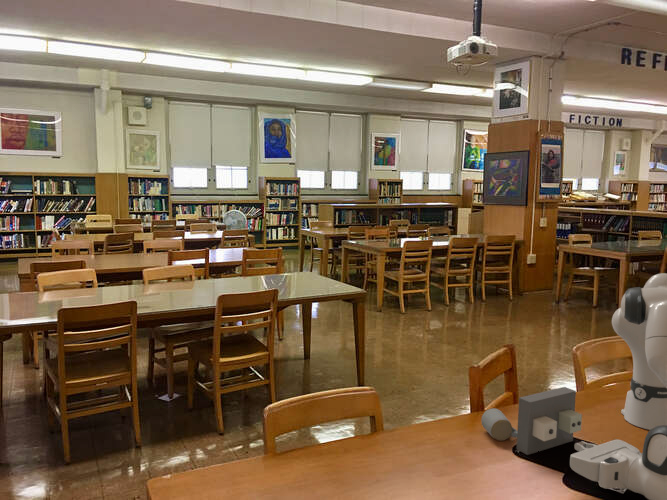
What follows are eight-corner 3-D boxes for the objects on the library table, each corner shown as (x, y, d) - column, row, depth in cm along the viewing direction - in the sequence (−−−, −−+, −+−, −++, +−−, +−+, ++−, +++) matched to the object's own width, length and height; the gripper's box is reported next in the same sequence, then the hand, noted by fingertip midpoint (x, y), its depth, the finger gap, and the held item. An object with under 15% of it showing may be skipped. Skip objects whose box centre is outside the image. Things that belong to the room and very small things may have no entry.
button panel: (561, 435, 165) (564, 386, 163) (572, 440, 162) (575, 391, 160) (516, 449, 156) (519, 397, 154) (527, 455, 152) (529, 402, 151)
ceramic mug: (491, 442, 160) (492, 418, 159) (480, 430, 168) (481, 407, 167) (523, 441, 161) (525, 417, 160) (511, 430, 169) (512, 407, 168)
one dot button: (541, 430, 156) (542, 414, 155) (557, 438, 151) (558, 421, 151) (530, 434, 154) (531, 418, 153) (545, 441, 149) (546, 425, 148)
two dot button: (566, 423, 161) (567, 408, 160) (582, 430, 156) (583, 414, 156) (555, 427, 159) (556, 411, 158) (570, 434, 154) (571, 417, 153)
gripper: (652, 447, 135) (603, 426, 147) (601, 465, 125) (553, 441, 137) (650, 470, 135) (601, 447, 148) (600, 490, 126) (552, 464, 138)
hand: (577, 444), depth 142 cm, fingers closed
